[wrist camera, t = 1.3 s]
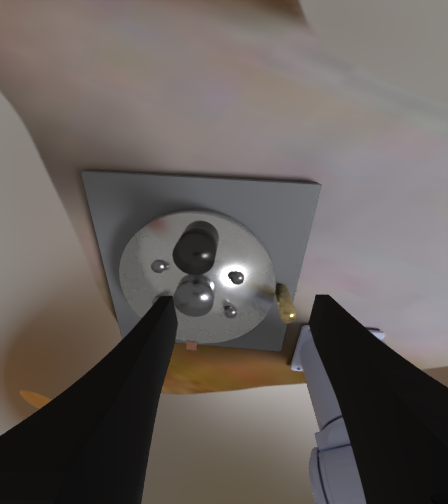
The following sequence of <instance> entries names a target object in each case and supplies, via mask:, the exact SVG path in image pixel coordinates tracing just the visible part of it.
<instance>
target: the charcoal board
mask: <svg viewBox="0 0 448 504" xmlns="http://www.w3.org/2000/svg"><path fill="white" fill-rule="evenodd" d="M80 172H81V176H82V180H83V184H84V188H85V192H86V196H87V200H88V204H89V208H90V212H91V216H92V220H93V224H94V228H95V232H96V236H97V240H98V244H99V248H100V252H101V256H102V260H103V264H104V268H105V272H106V276H107V280H108V284H109V288H110V292H111V296H112V300H113V304H114V308H115V312H116V316H117V320H118V324H119V328H120V332H121V336H122V338H124V337H125V336H126V335H127V334H128V333H129V332H130V331H131V330H132V329H133V328H134V327H135V325H136V324H137V323H138V322H139V321H140V320H141V318H140V317H139V316H138V315H137V314H136V313H135V311H134V310H133V309H132V308H131V306H130V305H129V303H128V302H127V300H126V298H125V296H124V294H123V291H122V288H121V284H120V278H119V267H120V260H121V257H122V254H123V251H124V249H125V247H126V245H127V244H128V242H129V241H130V240H131V238H132V237H133V236H134V235H135V234H136V233H137V232H138V231H139V230H140V229H142V228H143V227H144V226H145V225H146V224H147V223H149V222H150V221H152V220H153V219H155V218H157V217H159V216H161V215H163V214H166V213H169V212H172V211H176V210H182V209H205V210H210V211H215V212H219V213H222V214H224V215H227V216H229V217H231V218H233V219H235V220H237V221H239V222H240V223H242V224H243V225H245V226H246V227H248V228H249V229H250V230H251V231H252V232H253V233H254V234H255V235H256V236H257V237H258V238H259V239H260V240H261V242H262V243H263V245H264V246H265V248H266V250H267V252H268V254H269V256H270V259H271V263H272V266H273V270H274V274H275V281H276V285H278V284H285V285H286V286H287V287H288V290H289V293H290V296H291V299H292V302H293V300H294V296H295V292H296V288H297V283H298V279H299V275H300V271H301V267H302V263H303V259H304V255H305V251H306V247H307V243H308V239H309V235H310V231H311V226H312V222H313V218H314V214H315V210H316V206H317V202H318V198H319V194H320V190H321V186H322V185H321V184H319V183H313V182H295V181H277V180H259V179H241V178H223V177H205V176H187V175H169V174H151V173H133V172H115V171H97V170H85V171H80ZM287 324H288V323H284V322H283V321H282V320H281V317H280V313H279V309H278V305H277V300H276V296H274V301H273V303H272V306H271V308H270V310H269V312H268V313H267V315H266V316H265V317H264V319H263V320H262V321H261V322H260V323H259V324H258V325H257V326H256V327H255V328H253V329H252V330H250V331H249V332H247V333H245V334H244V335H242V336H239V337H237V338H235V339H231V340H228V341H224V342H218V343H198V345H208V346H220V347H232V348H244V349H256V350H268V351H280V352H281V349H282V344H283V340H284V336H285V332H286V328H287ZM175 343H184V344H186V343H187V341H182V340H179V339H175Z"/></svg>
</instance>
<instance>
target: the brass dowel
mask: <svg viewBox="0 0 448 504" xmlns="http://www.w3.org/2000/svg"><path fill="white" fill-rule="evenodd" d="M275 296H276V300H277V305H278V309H279V313H280V317H281V320H282V321H283V322H284V323H292V322H294V321H295V320H296V319H297V314H296V311H295V308H294V305H293V302H292V299H291V296H290V293H289V290H288V287H287V286H286V285H285V284H278V285H276V290H275Z"/></svg>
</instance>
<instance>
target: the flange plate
mask: <svg viewBox="0 0 448 504" xmlns="http://www.w3.org/2000/svg"><path fill="white" fill-rule="evenodd" d="M119 278H120V284H121V288H122V291H123V294H124V296H125V298H126V300H127V302H128V303H129V305H130V306H131V308H132V309H133V310H134V311H135V313H136V314H137V315H138V316H139V317H140V318H141V319H142V317H143V316H144V315H145V314H146V313H147V311H148V310H149V309H150V308H151V307H152V305H153V304H154V303H155V302H156V300H157V299H158V298H159V297H160V296H173V301H174V306H175V311H176V316H177V321H178V327H177V333H176V339H179V340H182V341H187V343H186V349H187V350H194V351H196V350H197V345H198V343H218V342H224V341H228V340H231V339H235V338H237V337H239V336H242V335H244V334H245V333H247V332H249V331H250V330H252V329H253V328H255V327H256V326H257V325H258V324H259V323H260V322H261V321H262V320H263V319H264V317H265V316H266V315H267V313H268V312H269V310H270V308H271V306H272V303H273V301H274V296H275V290H276V281H275V274H274V270H273V266H272V263H271V259H270V256H269V254H268V252H267V250H266V248H265V246H264V245H263V243H262V242H261V240H260V239H259V238H258V237H257V236H256V235H255V234H254V233H253V232H252V231H251V230H250V229H249V228H248V227H246V226H245V225H243V224H242V223H240V222H239V221H237V220H235V219H233V218H231V217H229V216H227V215H224V214H222V213H219V212H215V211H210V210H205V209H182V210H176V211H172V212H169V213H166V214H163V215H161V216H159V217H157V218H155V219H153V220H152V221H150V222H149V223H147V224H146V225H145V226H144V227H143V228H142V229H140V230H139V231H138V232H137V233H136V234H135V235H134V236H133V237H132V238H131V240H130V241H129V242H128V244H127V245H126V247H125V249H124V251H123V254H122V257H121V260H120V267H119Z"/></svg>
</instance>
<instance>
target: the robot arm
mask: <svg viewBox="0 0 448 504" xmlns="http://www.w3.org/2000/svg"><path fill="white" fill-rule="evenodd" d="M177 327H178V321H177V316H176V311H175V306H174V301H173V296H160V297H159V298H158V299H157V300H156V302H155V303H154V304H153V305H152V307H151V308H150V309H149V310H148V311H147V313H146V314H145V315H144V316H143V317H142V319H141V320H140V321H139V322H138V323H137V324H136V325H135V327H134V328H133V329H132V330H131V331H130V332H129V333H128V334H127V335H126V336H125V337H124V338H123V339H122V340H121V342H120V343H119V344H118V345H117V346H116V347H115V348H114V349H113V350H112V351H111V352H110V353H108V355H106V356H105V357H104V358H103V359H102V360H101V361H100V362H99V363H98V364H97V365H96V366H94V367H93V368H92V369H91V370H90V371H88V372H87V373H86V374H85V375H84V376H83V377H81V378H80V379H79V380H78V381H76V382H75V383H74V384H73V385H72V386H70V387H69V388H68V389H67V390H65V391H64V392H63V393H61V394H60V395H58V396H57V397H56V398H54V399H53V400H52V401H50V402H49V403H48V404H46V405H45V406H44V407H42V408H41V409H39V410H38V411H37V412H35V413H34V414H32V415H31V416H30V417H28V418H27V419H25V420H24V421H22V422H21V423H19V424H18V425H16V426H15V427H13V428H12V429H10V430H8V431H7V432H6V433H4V434H3V435H1V436H0V504H141V501H142V494H143V488H144V481H145V475H146V468H147V462H148V456H149V450H150V445H151V439H152V433H153V428H154V423H155V417H156V412H157V407H158V402H159V397H160V393H161V389H162V386H163V382H164V379H165V375H166V372H167V369H168V365H169V362H170V358H171V355H172V351H173V348H174V344H175V339H176V333H177ZM309 329H310V330H309ZM384 337H385V334H384V332H383V331H377V330H367V329H366V328H365V327H364V326H363V325H362V324H361V323H359V322H358V321H357V320H356V319H355V318H354V317H353V316H351V315H350V314H349V313H348V312H347V311H346V310H345V309H344V308H343V307H342V306H340V305H339V304H338V303H337V302H336V301H335V300H334V299H333V298H332V297H330V296H329V295H316V296H315V300H314V304H313V308H312V312H311V316H310V320H309V325H304V326H302V328H301V331H300V335H299V338H298V341H297V345H296V348H295V352H294V355H293V359H292V362H291V369H292V370H294V371H303V372H304V376H305V379H306V383H307V387H308V390H309V394H310V398H311V401H312V405H313V408H314V412H315V416H316V419H317V423H318V426H319V430H320V432H317V433H315V438H316V442H317V445H318V447H314V448H313V449H312V451H311V457H310V461H309V475H310V483H311V488H312V493H313V496H314V501H315V504H448V388H447V387H446V386H444V385H443V384H441V383H440V382H438V381H437V380H435V379H433V378H432V377H430V376H429V375H427V374H426V373H424V372H423V371H421V370H420V369H419V368H417V367H416V366H414V365H413V364H411V363H410V362H409V361H407V360H406V359H404V358H403V357H402V356H400V355H399V354H398V353H396V352H395V351H394V350H392V349H391V348H390V347H388V346H387V345H386V344H385V342H384V341H383V339H384Z"/></svg>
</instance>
